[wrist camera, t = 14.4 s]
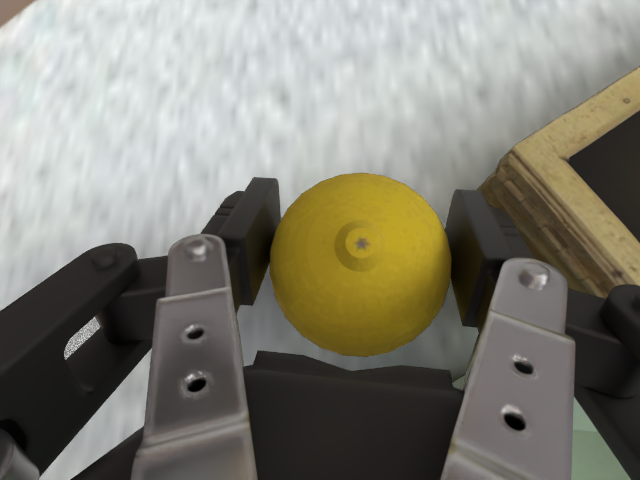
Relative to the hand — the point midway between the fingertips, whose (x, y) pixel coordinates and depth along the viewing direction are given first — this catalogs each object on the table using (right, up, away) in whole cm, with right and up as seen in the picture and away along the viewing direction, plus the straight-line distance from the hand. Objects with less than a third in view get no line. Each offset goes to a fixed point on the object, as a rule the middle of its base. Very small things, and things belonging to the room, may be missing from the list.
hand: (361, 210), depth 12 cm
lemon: (0, -3, +4) cm, 5 cm away
